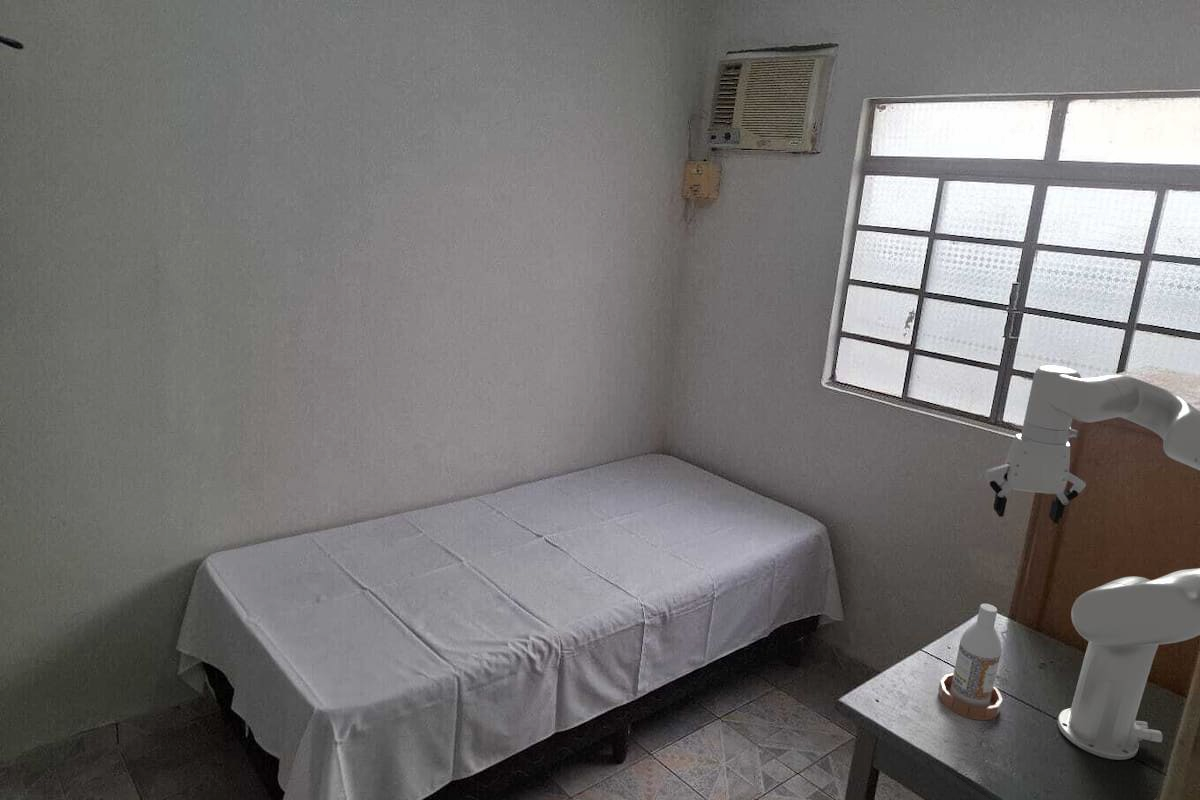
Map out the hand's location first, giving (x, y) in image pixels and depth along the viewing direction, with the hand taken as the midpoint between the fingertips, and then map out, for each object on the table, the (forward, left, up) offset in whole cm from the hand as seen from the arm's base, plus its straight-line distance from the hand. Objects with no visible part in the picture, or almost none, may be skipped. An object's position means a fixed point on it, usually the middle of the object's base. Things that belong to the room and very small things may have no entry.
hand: (1026, 517), depth 152 cm
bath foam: (+7, +12, -34) cm, 37 cm away
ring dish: (+7, +12, -34) cm, 37 cm away
